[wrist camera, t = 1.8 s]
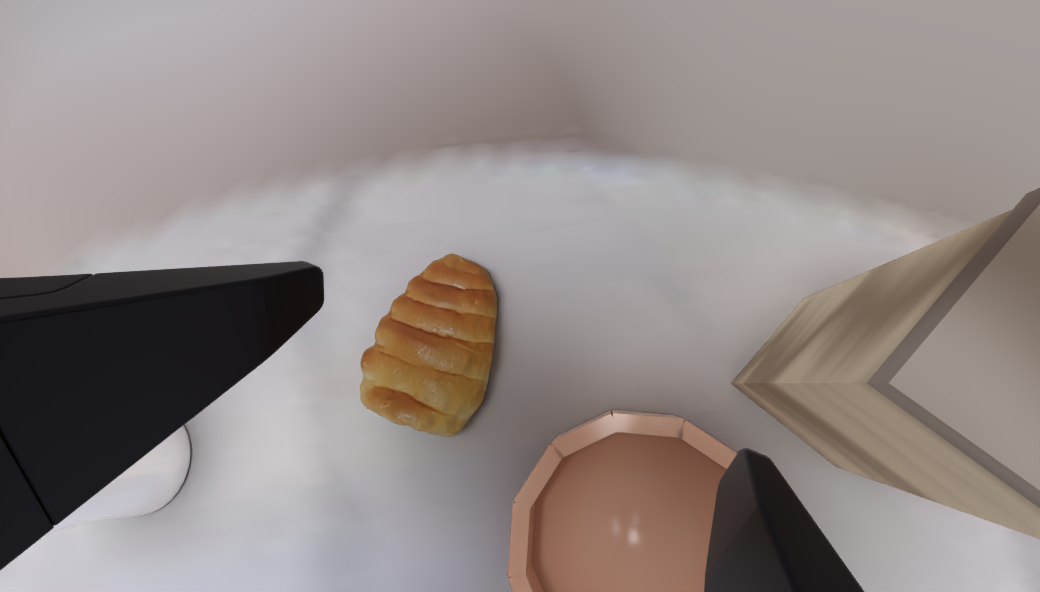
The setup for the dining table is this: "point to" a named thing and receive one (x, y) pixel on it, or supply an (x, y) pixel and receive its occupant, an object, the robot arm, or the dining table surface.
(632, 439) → the terracotta bowl
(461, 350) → the pastry
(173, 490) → the beer glass
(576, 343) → the dining table surface
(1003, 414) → the lidded square box
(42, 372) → the robot arm
